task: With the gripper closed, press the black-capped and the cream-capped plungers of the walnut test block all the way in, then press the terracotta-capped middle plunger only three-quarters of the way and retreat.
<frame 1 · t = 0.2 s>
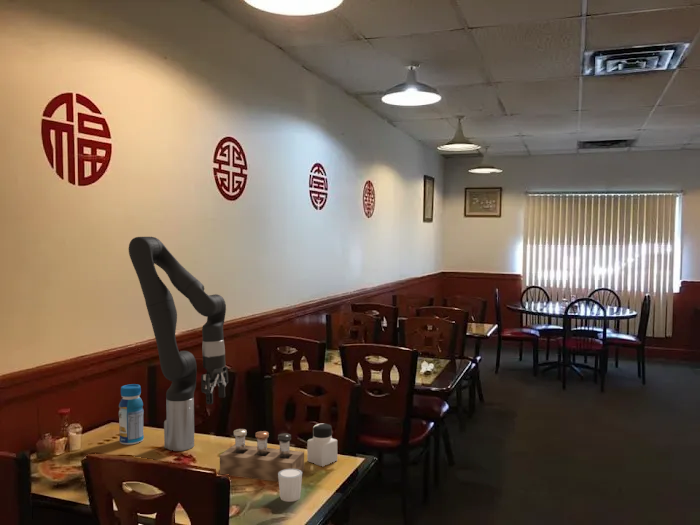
hand: (216, 400, 203), 17 cm above the table, tool pointing down, fingers open, 8 cm apart
white cup: (290, 497, 167), on the table
beverage bottle: (131, 441, 213), on the table
walnut block: (262, 472, 185), on the table
cream plunger: (240, 442, 187), point 9 cm above the table, slide at 0.0 cm
terracotta plunger: (262, 444, 185), point 9 cm above the table, slide at 0.0 cm
medicine bottle: (322, 461, 194), on the table
black plunger: (284, 446, 183), point 9 cm above the table, slide at 0.0 cm
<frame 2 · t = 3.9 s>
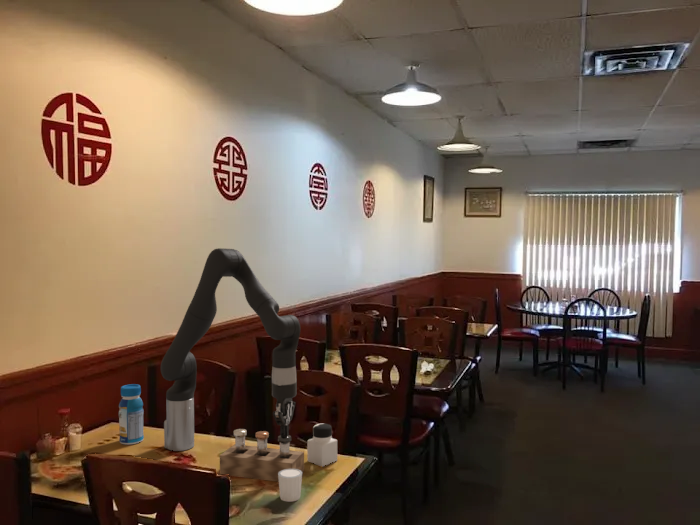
hand: (284, 436, 182), 12 cm above the table, tool pointing down, fingers closed
black plunger: (284, 448, 183), point 8 cm above the table, slide at 0.4 cm, touching gripper
everything else where it was.
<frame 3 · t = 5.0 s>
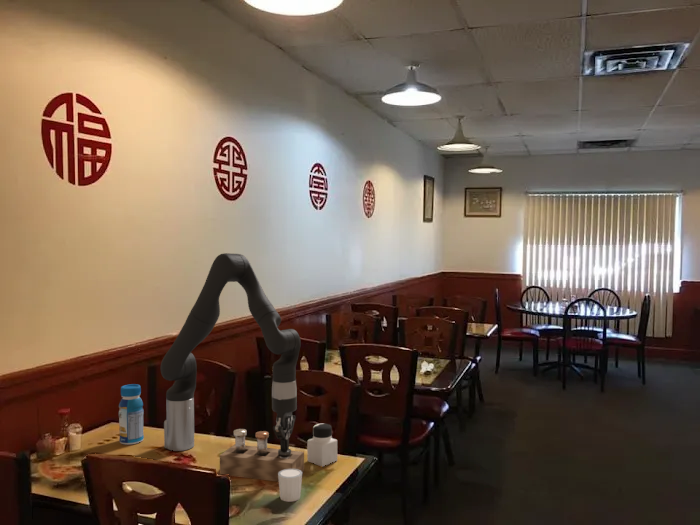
hand: (284, 450, 183), 8 cm above the table, tool pointing down, fingers closed
black plunger: (284, 462, 183), point 4 cm above the table, slide at 4.7 cm, touching gripper
everything else where it was.
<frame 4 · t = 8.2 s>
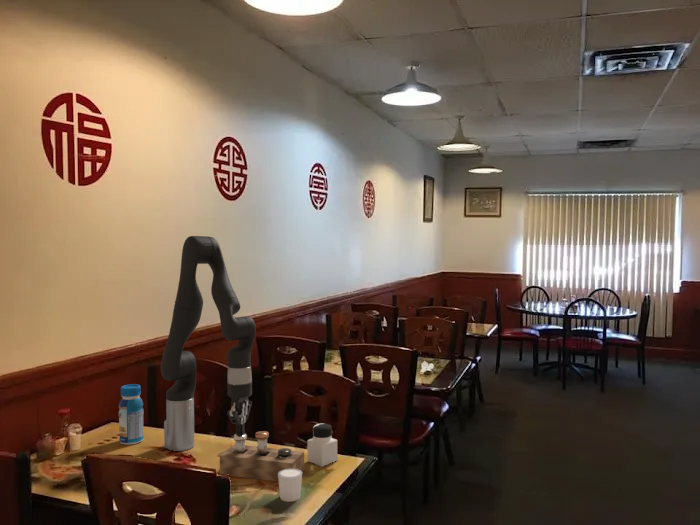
hand: (240, 435, 187), 11 cm above the table, tool pointing down, fingers closed
cream plunger: (240, 446, 187), point 7 cm above the table, slide at 1.4 cm, touching gripper
black plunger: (284, 462, 183), point 4 cm above the table, slide at 4.7 cm
everything else where it was.
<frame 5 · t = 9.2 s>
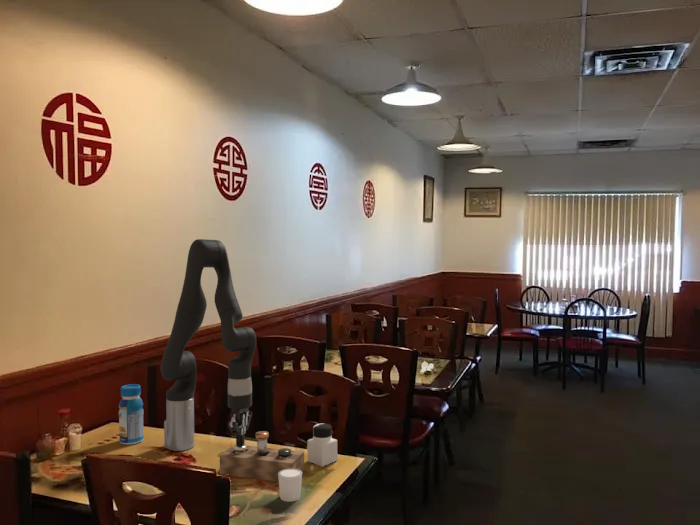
hand: (240, 445, 187), 8 cm above the table, tool pointing down, fingers closed
cream plunger: (240, 457, 187), point 4 cm above the table, slide at 4.8 cm, touching gripper
everything else where it was.
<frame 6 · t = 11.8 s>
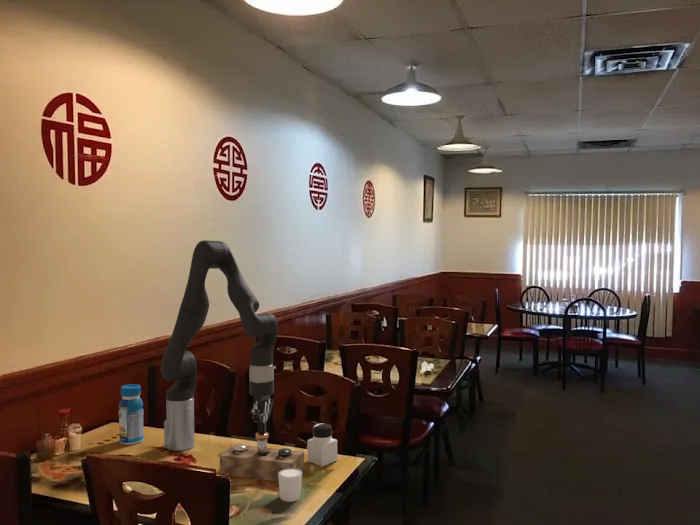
hand: (262, 433, 184), 12 cm above the table, tool pointing down, fingers closed
cream plunger: (240, 457, 187), point 4 cm above the table, slide at 4.8 cm
terracotta plunger: (262, 445, 185), point 9 cm above the table, slide at 0.2 cm, touching gripper
everything else where it was.
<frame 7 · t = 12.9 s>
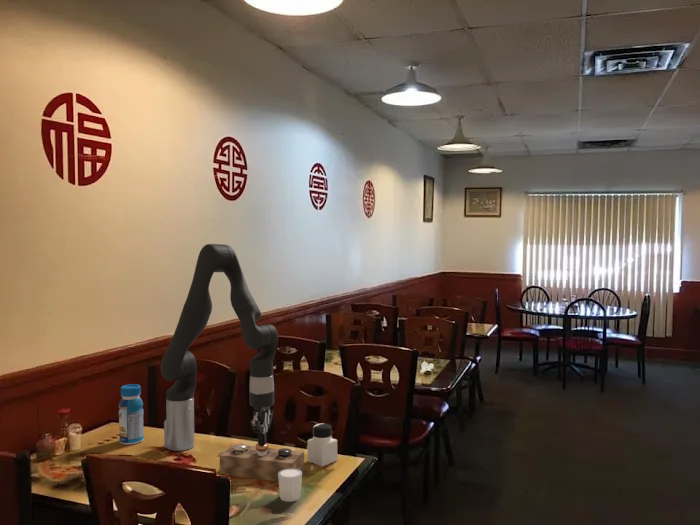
hand: (262, 444, 185), 9 cm above the table, tool pointing down, fingers closed
terracotta plunger: (262, 456, 185), point 5 cm above the table, slide at 3.6 cm, touching gripper
everything else where it was.
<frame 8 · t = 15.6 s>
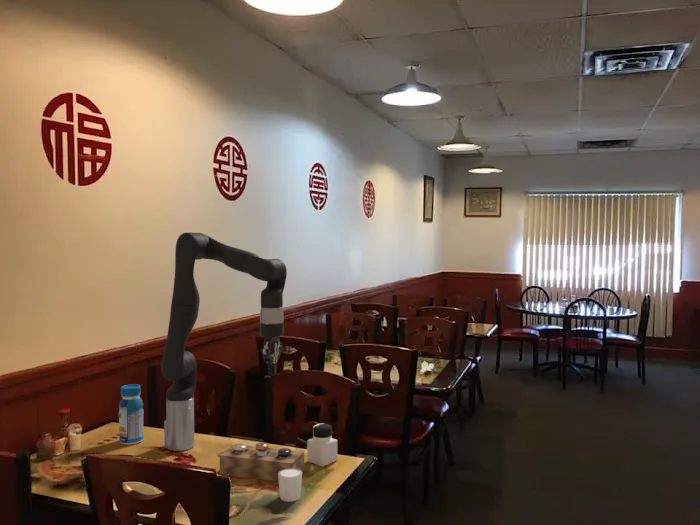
hand: (272, 374, 191), 29 cm above the table, tool pointing down, fingers closed
terracotta plunger: (262, 456, 185), point 5 cm above the table, slide at 3.6 cm
everything else where it was.
at the end: black plunger slide at 4.7 cm; cream plunger slide at 4.8 cm; terracotta plunger slide at 3.6 cm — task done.
